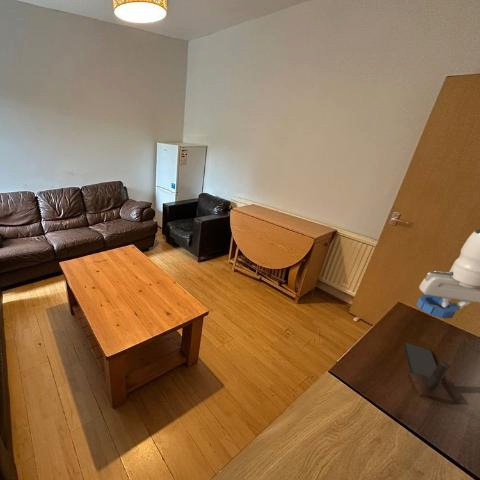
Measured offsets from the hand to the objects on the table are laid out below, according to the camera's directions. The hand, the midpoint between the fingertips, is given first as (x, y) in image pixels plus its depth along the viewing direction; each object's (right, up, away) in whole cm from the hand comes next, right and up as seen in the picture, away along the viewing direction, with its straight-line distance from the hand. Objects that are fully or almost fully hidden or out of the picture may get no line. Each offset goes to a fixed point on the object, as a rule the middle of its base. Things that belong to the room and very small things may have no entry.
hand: (450, 307), depth 89 cm
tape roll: (-4, -1, +2) cm, 4 cm away
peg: (-24, -20, -15) cm, 34 cm away
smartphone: (-17, -16, -7) cm, 25 cm away
